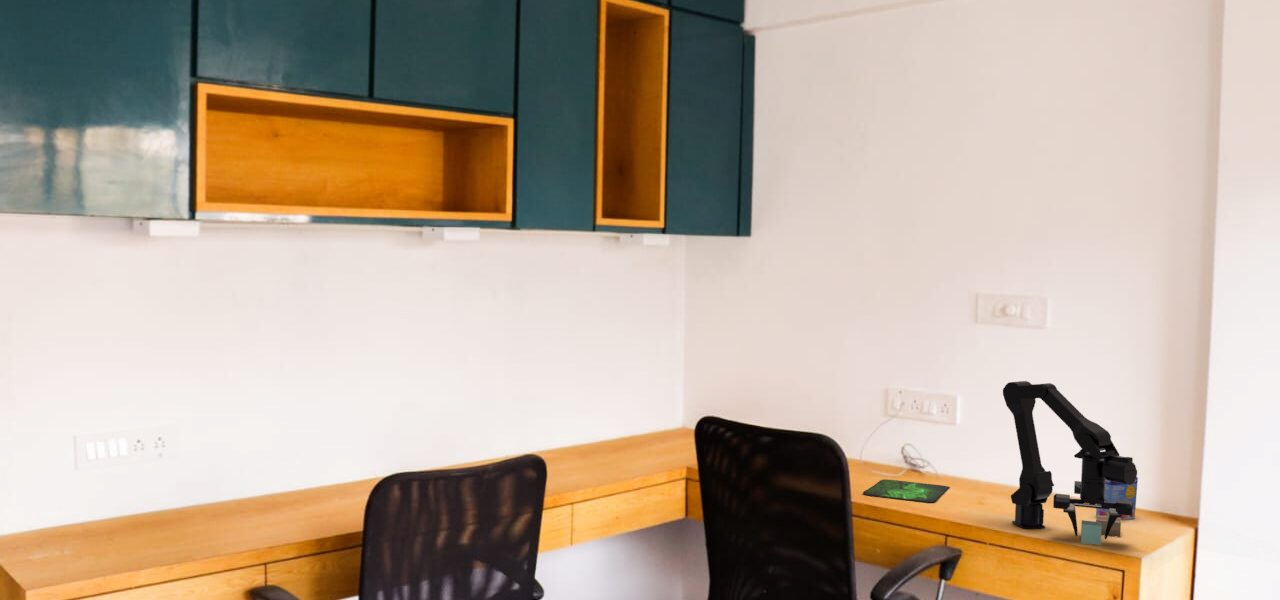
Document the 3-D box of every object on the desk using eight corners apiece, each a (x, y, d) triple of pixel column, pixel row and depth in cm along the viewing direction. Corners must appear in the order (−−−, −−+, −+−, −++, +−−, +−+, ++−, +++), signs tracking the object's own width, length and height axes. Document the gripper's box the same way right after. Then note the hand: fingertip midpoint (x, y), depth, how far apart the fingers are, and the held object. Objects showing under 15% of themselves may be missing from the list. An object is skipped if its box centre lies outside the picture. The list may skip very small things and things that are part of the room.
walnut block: (1120, 537, 289) (1120, 522, 289) (1095, 535, 291) (1096, 520, 291) (1120, 532, 294) (1120, 517, 294) (1096, 529, 297) (1096, 515, 296)
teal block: (1100, 545, 280) (1101, 526, 280) (1081, 543, 282) (1082, 524, 282) (1099, 541, 285) (1100, 522, 284) (1080, 539, 286) (1081, 520, 286)
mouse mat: (882, 479, 356) (882, 476, 356) (951, 487, 347) (951, 484, 347) (861, 496, 332) (861, 493, 332) (934, 505, 322) (935, 501, 322)
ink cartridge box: (1109, 521, 305) (1111, 470, 304) (1094, 516, 310) (1096, 466, 310) (1136, 519, 309) (1139, 468, 308) (1121, 514, 314) (1124, 464, 313)
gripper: (1130, 474, 287) (1128, 533, 287) (1054, 468, 293) (1052, 526, 294) (1133, 483, 276) (1131, 544, 277) (1054, 476, 283) (1052, 536, 284)
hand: (1090, 537), depth 283 cm, fingers open, 7 cm apart
